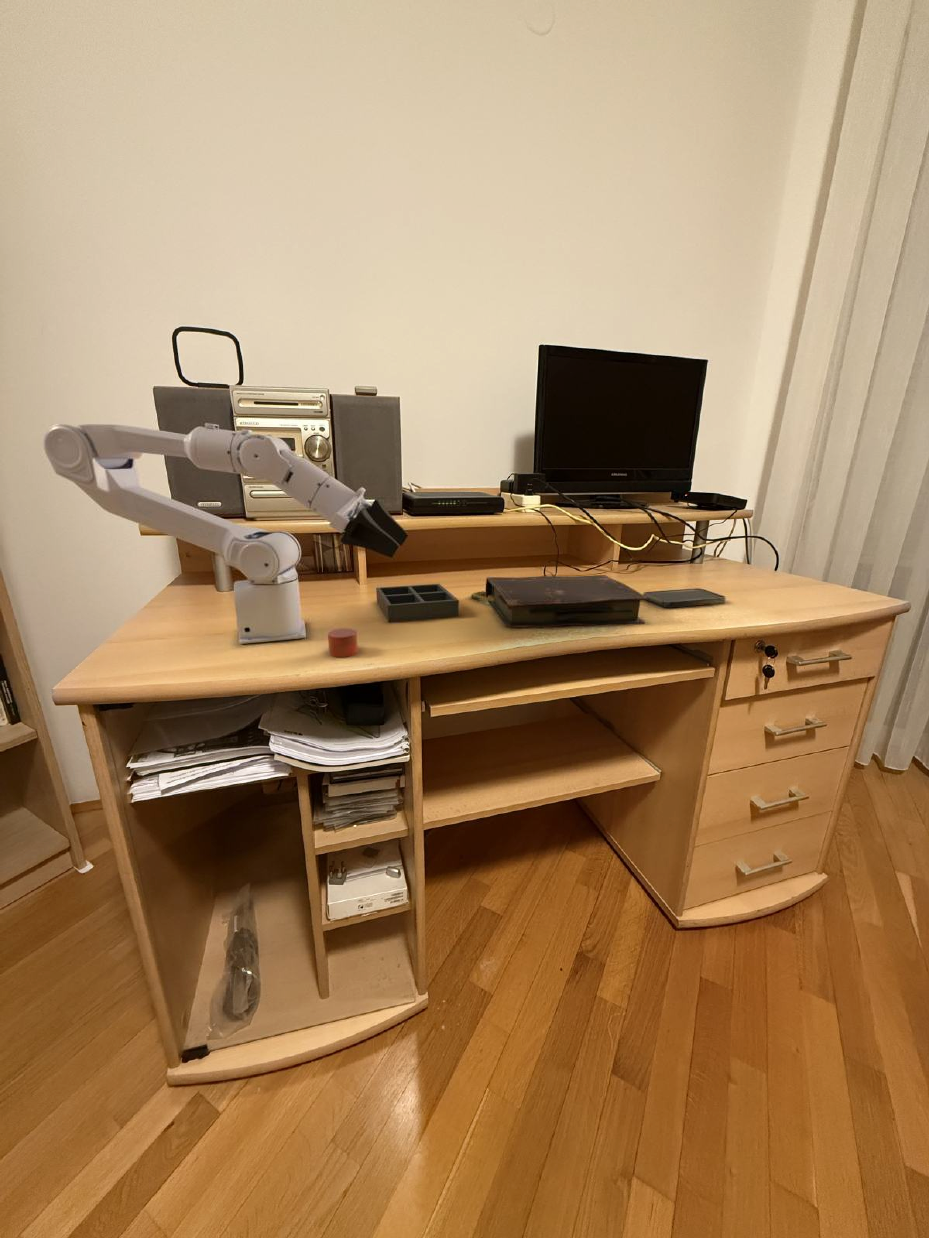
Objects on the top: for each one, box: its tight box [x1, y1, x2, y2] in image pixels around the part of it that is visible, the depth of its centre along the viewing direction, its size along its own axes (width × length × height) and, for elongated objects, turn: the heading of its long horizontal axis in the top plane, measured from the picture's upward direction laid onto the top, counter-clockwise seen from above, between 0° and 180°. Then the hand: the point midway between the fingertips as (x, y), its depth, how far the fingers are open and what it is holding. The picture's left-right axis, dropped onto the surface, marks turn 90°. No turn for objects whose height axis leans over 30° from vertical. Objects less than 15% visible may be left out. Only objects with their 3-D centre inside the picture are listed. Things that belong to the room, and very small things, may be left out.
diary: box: [485, 574, 648, 628], centre depth 91 cm, size 19×25×5 cm
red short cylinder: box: [327, 627, 359, 658], centre depth 70 cm, size 4×4×3 cm
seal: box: [470, 590, 494, 606], centre depth 98 cm, size 9×5×15 cm
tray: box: [375, 583, 460, 623], centre depth 91 cm, size 13×13×3 cm
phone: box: [642, 587, 727, 608], centre depth 100 cm, size 8×1×15 cm
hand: (400, 545), depth 73 cm, fingers open, 7 cm apart
